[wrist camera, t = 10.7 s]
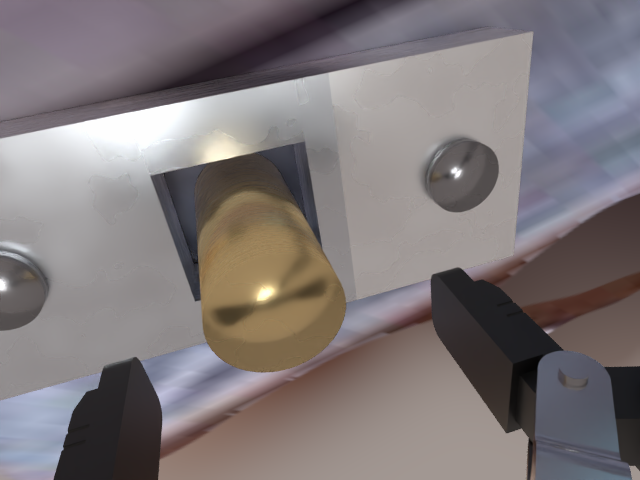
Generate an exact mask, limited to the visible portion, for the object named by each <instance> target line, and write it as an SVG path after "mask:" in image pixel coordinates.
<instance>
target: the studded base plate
mask: <svg viewBox="0 0 640 480" xmlns="http://www.w3.org/2000/svg"><path fill="white" fill-rule="evenodd" d="M532 40H533V31H524V30H515V29H506V28H497V27H483V28H477V29H472V30H467V31H462V32H457V33H452V34H447V35H442V36H437V37H431V38H426V39H421V40H416V41H411V42H406V43H401V44H396V45H391V46H385V47H380V48H375V49H370V50H365V51H360V52H355V53H350V54H345V55H340V56H334V57H329V58H324V59H319V60H314V61H309V62H304V63H299V64H294V65H288V66H283V67H278V68H273V69H268V70H263V71H258V72H253V73H248V74H243V75H237V76H232V77H227V78H222V79H217V80H212V81H207V82H202V83H197V84H191V85H186V86H181V87H176V88H171V89H166V90H161V91H156V92H151V93H146V94H140V95H135V96H130V97H125V98H120V99H115V100H110V101H105V102H100V103H94V104H89V105H84V106H79V107H74V108H69V109H64V110H59V111H54V112H48V113H43V114H38V115H33V116H28V117H23V118H18V119H13V120H8V121H3V122H0V400H4V399H7V398H11V397H14V396H18V395H21V394H25V393H28V392H32V391H35V390H39V389H43V388H46V387H50V386H53V385H57V384H60V383H64V382H67V381H71V380H74V379H78V378H82V377H85V376H89V375H92V374H96V373H99V372H102V370H103V368H104V366H105V365H108V364H111V363H115V362H118V361H122V360H125V359H129V358H133V357H137V358H138V359H139V360H140V361H142V360H145V359H149V358H152V357H156V356H159V355H163V354H167V353H170V352H174V351H177V350H181V349H184V348H188V347H191V346H195V345H198V344H202V343H206V342H207V341H206V339H205V336H204V332H203V325H202V310H201V294H200V278H199V263H198V264H195V265H194V264H193V261H192V258H191V255H190V252H189V249H188V246H187V243H186V240H185V237H184V234H183V231H182V228H181V225H180V222H179V219H178V217H177V214H176V211H175V208H174V205H173V202H172V199H171V196H170V193H169V190H168V187H167V184H166V181H165V178H164V175H163V173H165V172H169V171H174V170H178V169H183V168H187V167H192V166H196V165H201V164H205V163H210V162H214V161H219V160H223V159H227V158H232V157H236V156H241V155H245V154H250V153H254V152H259V151H263V150H268V149H272V148H277V147H281V146H286V145H290V144H293V147H294V152H295V158H296V163H297V169H298V175H299V180H300V186H301V191H302V197H303V203H304V208H305V214H306V220H307V222H308V224H309V226H310V228H311V230H312V232H313V233H314V235H315V237H316V239H317V241H318V242H319V244H320V246H321V248H322V250H323V251H324V253H325V255H326V257H327V259H328V260H329V262H330V264H331V266H332V268H333V270H334V271H335V273H336V275H337V277H338V279H339V280H340V282H341V284H342V287H343V289H344V293H345V297H346V303H347V302H351V301H354V300H358V299H361V298H365V297H369V296H372V295H376V294H379V293H383V292H386V291H390V290H393V289H397V288H400V287H404V286H408V285H411V284H415V283H418V282H422V281H425V280H429V279H431V276H432V275H433V274H435V273H439V272H442V271H446V270H449V269H453V268H457V267H459V268H461V269H462V270H464V269H468V268H471V267H475V266H478V265H482V264H485V263H489V262H493V261H496V260H500V259H503V258H507V257H510V256H514V245H515V233H516V222H517V211H518V199H519V188H520V177H521V165H522V154H523V143H524V131H525V120H526V109H527V97H528V86H529V74H530V63H531V52H532Z"/></svg>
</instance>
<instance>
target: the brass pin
mask: <svg viewBox="0 0 640 480" xmlns="http://www.w3.org/2000/svg"><path fill="white" fill-rule="evenodd" d="M194 198H195V214H196V230H197V246H198V262H199V278H200V294H201V310H202V325H203V332H204V336H205V339H206V341H207V343H208V345H209V346H210V348H211V349H212V351H213V352H214V353H215V354H216V355H217V356H218V357H219V358H220V359H222V360H223V361H224V362H226V363H228V364H230V365H232V366H234V367H236V368H239V369H242V370H246V371H252V372H275V371H281V370H285V369H289V368H292V367H295V366H298V365H300V364H302V363H304V362H306V361H308V360H310V359H311V358H313V357H315V356H316V355H317V354H319V353H320V352H321V351H322V350H323V349H325V348H326V347H327V346H328V345H329V343H330V342H331V341H332V340H333V339H334V337H335V336H336V334H337V333H338V331H339V329H340V327H341V325H342V322H343V320H344V316H345V310H346V297H345V293H344V289H343V287H342V284H341V282H340V280H339V279H338V277H337V275H336V273H335V271H334V270H333V268H332V266H331V264H330V262H329V260H328V259H327V257H326V255H325V253H324V251H323V250H322V248H321V246H320V244H319V242H318V241H317V239H316V237H315V235H314V233H313V232H312V230H311V228H310V226H309V224H308V222H307V221H306V219H305V217H304V215H303V213H302V212H301V210H300V208H299V206H298V204H297V203H296V201H295V199H294V197H293V195H292V193H291V192H290V190H289V188H288V186H287V184H286V183H285V181H284V179H283V177H282V175H281V174H280V172H279V170H278V169H277V168H276V166H275V165H274V164H273V163H272V162H271V161H269V160H268V159H266V158H265V157H263V156H261V155H258V154H256V153H250V154H245V155H241V156H236V157H232V158H227V159H223V160H219V161H214V162H210V163H208V164H207V165H206V166H205V167H204V169H203V170H202V171H201V173H200V175H199V177H198V179H197V182H196V185H195V192H194Z"/></svg>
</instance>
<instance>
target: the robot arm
mask: <svg viewBox="0 0 640 480" xmlns="http://www.w3.org/2000/svg"><path fill="white" fill-rule="evenodd" d="M431 300H432V319H433V324H434V327H435V330H436V332H437V335H438V336H439V338H440V339H441V341H442V342H443V344H444V345H445V347H446V348H447V350H448V351H449V352H450V354H451V355H452V357H453V358H454V360H455V361H456V362H457V364H458V365H459V366H460V368H461V369H462V371H463V372H464V374H465V375H466V377H467V378H468V379H469V381H470V382H471V384H472V385H473V386H474V388H475V389H476V391H477V392H478V394H479V395H480V396H481V398H482V399H483V401H484V402H485V403H486V405H487V406H488V408H489V409H490V411H491V412H492V413H493V415H494V416H495V418H496V419H497V421H498V422H499V423H500V425H501V426H502V428H503V429H504V431H505V432H506V433H509V432H512V431H515V430H518V429H521V428H522V429H523V431H524V432H525V433H526V435H527V436H528V437H529V440H528V451H527V453H528V454H527V470H526V480H632V477H631V471H630V468H629V466H636V467H637V468H638V469H639V471H640V366H639V367H638V366H637V367H603V366H602V365H601V364H600V363H598V362H597V361H596V360H594V359H592V358H591V357H589V356H586V355H584V354H581V353H578V352H573V351H564V350H563V349H562V348H561V347H560V346H559V345H558V344H557V343H556V342H555V341H554V340H553V339H552V338H550V336H548V335H547V334H546V333H545V332H544V331H543V330H542V329H541V328H540V327H539V326H538V325H537V324H536V323H535V322H534V321H533V320H532V319H531V318H530V317H529V316H528V315H527V314H526V313H523V310H522V309H521V308H520V307H519V306H518V305H517V304H516V303H513V301H512V299H511V298H510V297H509V296H507V295H506V294H505V293H504V292H503V291H502V290H501V289H500V288H499V287H497V286H495V285H492V284H490V283H488V282H486V281H484V280H479V281H475V282H474V281H473V280H472V279H471V278H470V277H469V276H468V275H467V274H466V273H465V272H464V271H463V270H462V269H461V268H459V267H457V268H453V269H449V270H446V271H442V272H439V273H435V274H433V275H432V276H431ZM161 431H162V410H161V405H160V401H159V398H158V396H157V394H156V392H155V390H154V388H153V386H152V384H151V382H150V380H149V378H148V376H147V374H146V372H145V370H144V368H143V366H142V364H141V362H140V360H139V359H138V358H137V357H133V358H129V359H125V360H122V361H118V362H115V363H111V364H108V365H105V366H104V368H103V370H102V374H101V378H100V382H99V387H98V389H95V390H91V391H88V392H86V393H85V395H84V396H83V398H82V399H81V401H80V402H79V403H78V405H77V406H76V408H75V409H74V411H73V413H72V417H71V420H70V424H69V427H68V434H66V438H65V441H64V445H63V448H64V450H63V451H62V452H61V455H60V459H59V462H58V466H57V469H56V473H55V476H54V480H158V472H159V459H160V445H161Z"/></svg>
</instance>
